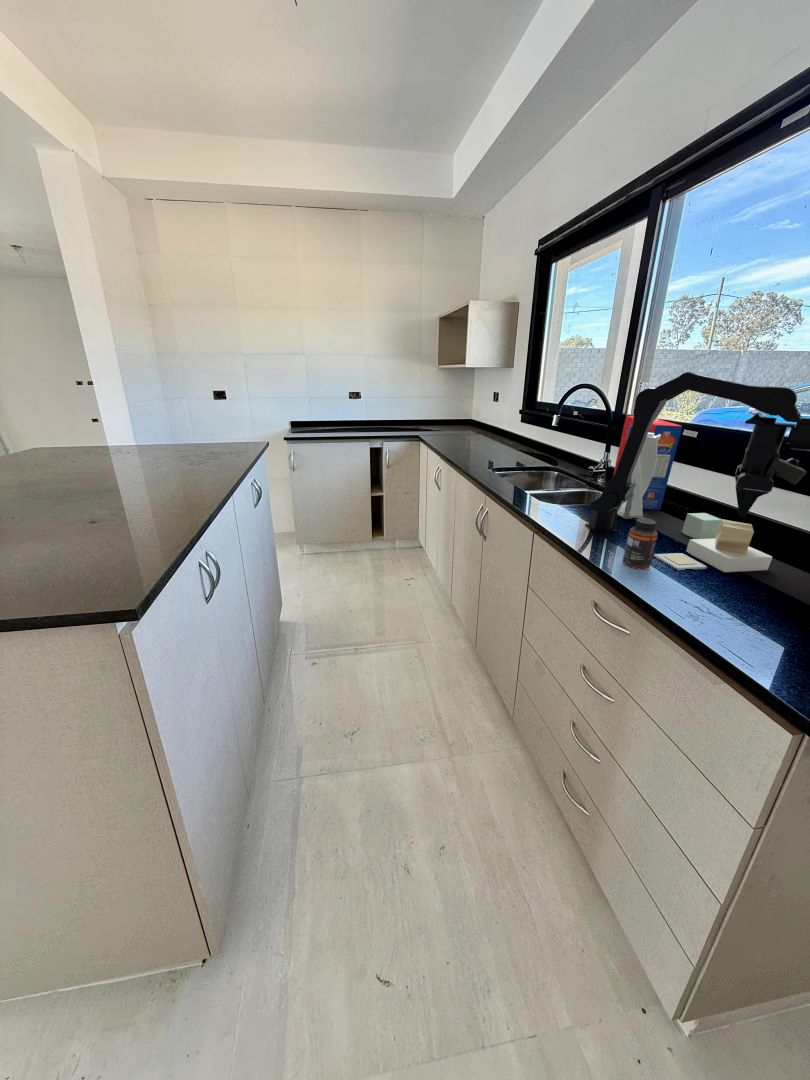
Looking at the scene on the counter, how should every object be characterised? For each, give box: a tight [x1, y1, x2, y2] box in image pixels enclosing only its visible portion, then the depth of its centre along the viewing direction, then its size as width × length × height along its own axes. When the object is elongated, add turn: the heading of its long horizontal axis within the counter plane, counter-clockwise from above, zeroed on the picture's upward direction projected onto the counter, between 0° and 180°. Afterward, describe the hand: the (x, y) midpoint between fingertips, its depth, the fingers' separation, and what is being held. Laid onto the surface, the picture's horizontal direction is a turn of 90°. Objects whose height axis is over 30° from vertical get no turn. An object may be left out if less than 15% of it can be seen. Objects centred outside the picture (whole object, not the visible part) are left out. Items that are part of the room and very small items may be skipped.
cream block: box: [685, 538, 773, 573], centre depth 107 cm, size 12×12×4 cm
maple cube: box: [715, 518, 755, 555], centre depth 105 cm, size 6×6×6 cm
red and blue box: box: [612, 415, 683, 511], centre depth 154 cm, size 28×8×28 cm, turn 172°
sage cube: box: [681, 512, 722, 539], centre depth 122 cm, size 6×6×6 cm
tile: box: [653, 552, 708, 571], centre depth 106 cm, size 8×8×1 cm
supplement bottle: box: [622, 517, 658, 570], centre depth 102 cm, size 6×6×11 cm
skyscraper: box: [617, 433, 661, 520], centre depth 135 cm, size 8×8×28 cm
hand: (741, 511), depth 103 cm, fingers open, 9 cm apart
